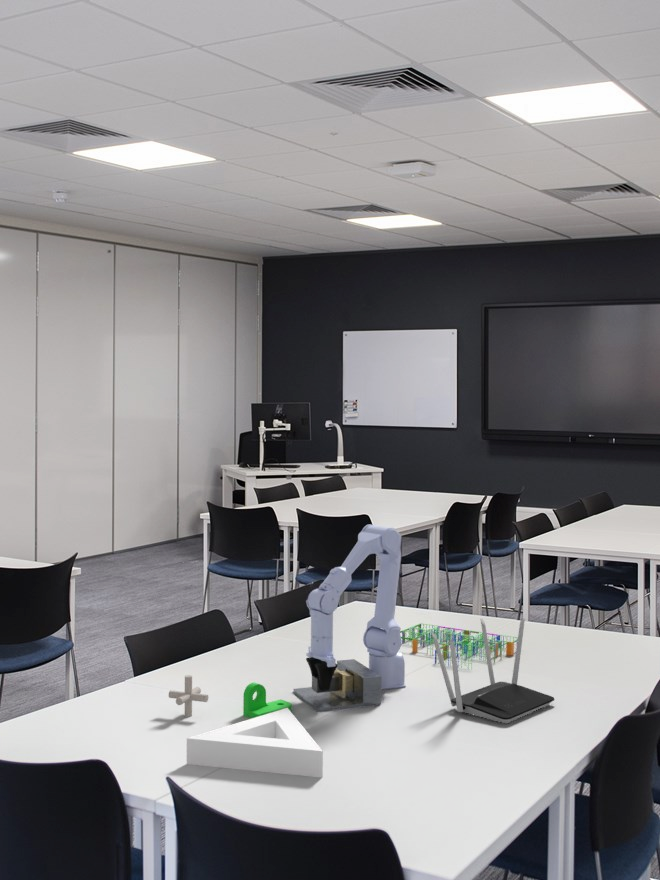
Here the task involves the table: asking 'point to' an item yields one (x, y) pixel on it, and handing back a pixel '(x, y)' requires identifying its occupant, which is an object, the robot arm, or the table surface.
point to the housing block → (363, 694)
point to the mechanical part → (260, 702)
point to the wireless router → (493, 689)
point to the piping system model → (467, 639)
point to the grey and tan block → (336, 683)
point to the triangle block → (259, 746)
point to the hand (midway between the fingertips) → (321, 687)
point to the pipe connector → (188, 696)
